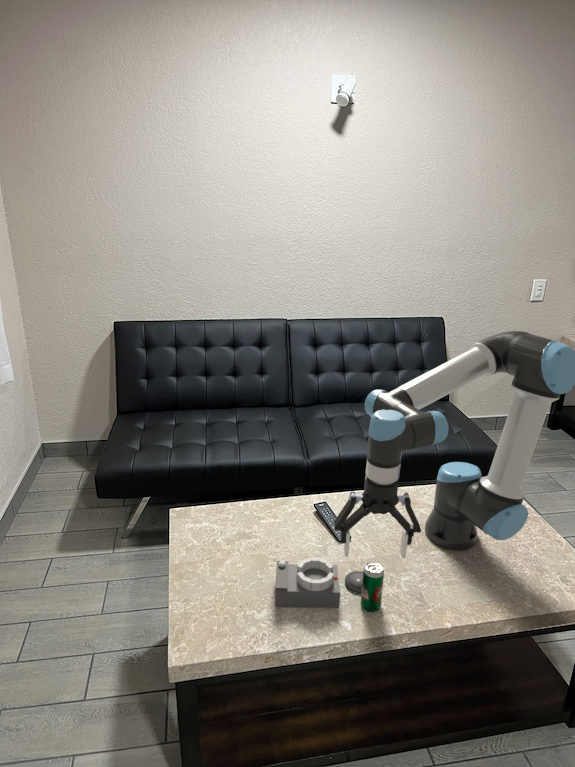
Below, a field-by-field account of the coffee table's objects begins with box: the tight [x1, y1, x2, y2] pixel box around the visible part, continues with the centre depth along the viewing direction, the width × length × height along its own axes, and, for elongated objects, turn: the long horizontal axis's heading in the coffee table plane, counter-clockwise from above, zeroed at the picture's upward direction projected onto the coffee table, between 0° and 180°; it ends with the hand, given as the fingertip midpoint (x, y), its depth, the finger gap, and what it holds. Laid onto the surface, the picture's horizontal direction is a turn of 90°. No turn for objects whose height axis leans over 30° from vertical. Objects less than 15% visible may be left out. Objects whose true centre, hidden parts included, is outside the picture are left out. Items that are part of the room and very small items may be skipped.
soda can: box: [360, 561, 385, 613], centre depth 133 cm, size 5×5×12 cm
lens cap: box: [344, 570, 363, 595], centre depth 142 cm, size 8×8×1 cm
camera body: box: [274, 557, 341, 609], centre depth 137 cm, size 16×10×8 cm, turn 89°
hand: (374, 553), depth 129 cm, fingers open, 13 cm apart
